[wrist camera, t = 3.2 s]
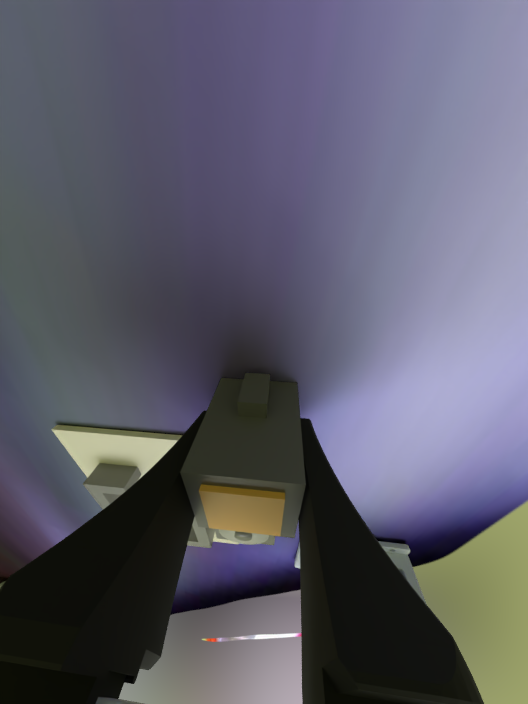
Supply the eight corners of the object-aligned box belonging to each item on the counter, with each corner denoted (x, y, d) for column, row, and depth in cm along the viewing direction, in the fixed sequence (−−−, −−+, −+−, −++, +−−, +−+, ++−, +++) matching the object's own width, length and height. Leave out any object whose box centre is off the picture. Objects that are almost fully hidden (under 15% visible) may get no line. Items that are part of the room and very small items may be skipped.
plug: (298, 370, 10) (310, 476, 6) (291, 434, 13) (294, 544, 8) (219, 365, 11) (172, 463, 6) (227, 428, 13) (196, 532, 8)
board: (228, 439, 13) (220, 468, 12) (239, 539, 22) (235, 564, 20) (57, 424, 14) (27, 449, 13) (129, 526, 22) (117, 549, 21)
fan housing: (277, 496, 16) (276, 526, 15) (274, 523, 19) (273, 552, 17) (215, 489, 17) (207, 519, 15) (221, 517, 19) (215, 545, 18)
